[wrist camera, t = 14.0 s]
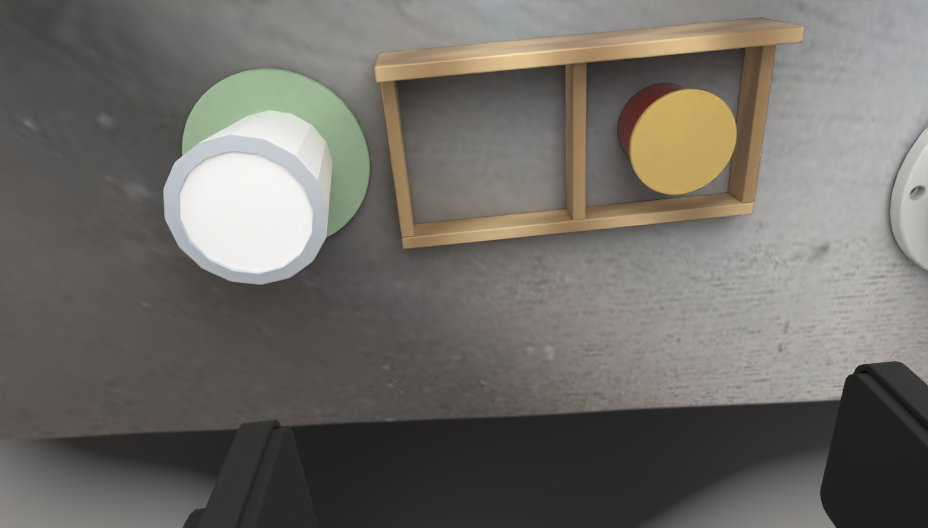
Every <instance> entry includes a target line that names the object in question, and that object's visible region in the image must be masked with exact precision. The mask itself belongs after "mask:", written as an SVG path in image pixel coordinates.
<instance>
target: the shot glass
mask: <svg viewBox="0 0 928 528" xmlns="http://www.w3.org/2000/svg"><path fill="white" fill-rule="evenodd" d="M332 164H333V161H332V158H331V155H330V152H329V149H328V146H327V143H326V141H325V140H324V139H323V137H322V136H321V135H320V134H319V133H318V132H317V130H316V129H315V128H314V127H313V126H312V125H311V124H310V123H308V122H306V121H304V120H302V119H301V118H299V117H297V116H295V115H293V114H292V113H285V112H278V111H271V110H268V111H264V112H260V113H256V114H253V115H249V116H247V117H245V118H243V119H241V120H239V121H238V122H236V123H234V124H232V125H230V126H228V127H227V128H225V129H223V130H221V131H219V132H218V133H216V134H214V135H212V136H210V137H208V138H207V139H205V140H203V141H201V142H199V143H198V144H197V145H195V146H194V147H193V148H192V149H191V150H189V151H188V152H187V153H186V154H184V155H183V156H182V157H181V158H180V159H178V160H177V161H176V162H175V164H174V166H173V168H172V170H171V173H170V175H169V177H168V180H167V182H166V184H165V187H164V189H163V191H164V210H165V220H166V222H167V224H168V226H169V228H170V230H171V232H172V234H173V236H174V238H175V240H176V242H177V244H178V246H179V247H180V248H181V249H182V250H183V251H184V252H185V253H186V254H187V255H188V256H190V257H191V258H192V259H193V260H194V261H195V262H196V263H197V264H198V265H199V266H200V267H201V268H203V269H205V270H207V271H209V272H211V273H214V274H216V275H218V276H220V277H222V278H225V279H227V280H229V281H232V282H242V283H251V284H261V285H262V284H266V283H270V282H274V281H279V280H283V279H287V278H290V277H292V276H293V275H295V274H296V273H297V272H299V271H300V270H302V269H303V268H304V267H306V266H307V265H308V264H310V263H311V262H313V260H314V258H315V257H316V255H317V253H318V251H319V250H320V248H321V246H322V244H323V242H324V241H325V239H326V235H327V223H328V212H329V201H330V190H331V178H332Z"/></svg>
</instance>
